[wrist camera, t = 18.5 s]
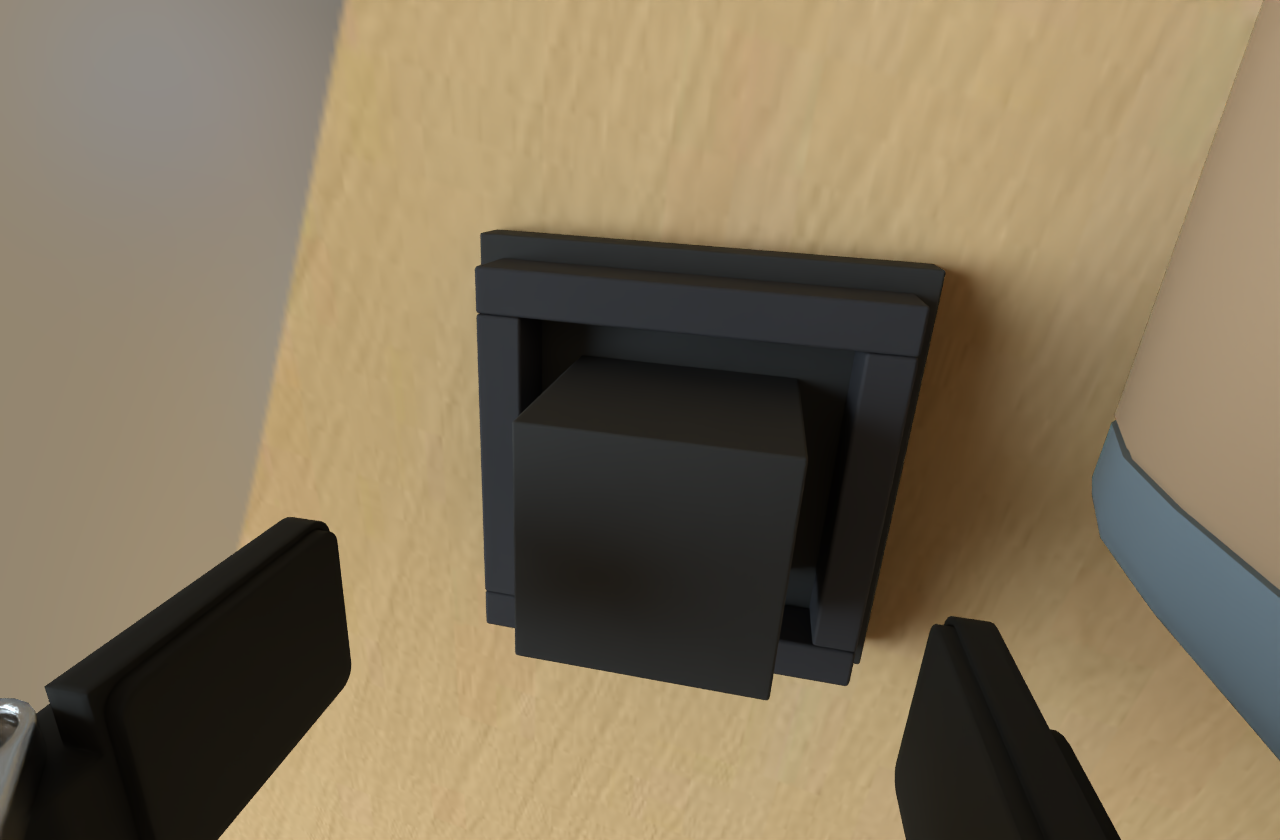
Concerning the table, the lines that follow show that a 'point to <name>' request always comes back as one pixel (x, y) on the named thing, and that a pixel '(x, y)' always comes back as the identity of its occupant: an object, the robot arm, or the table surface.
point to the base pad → (731, 341)
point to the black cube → (658, 521)
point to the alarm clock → (1213, 412)
